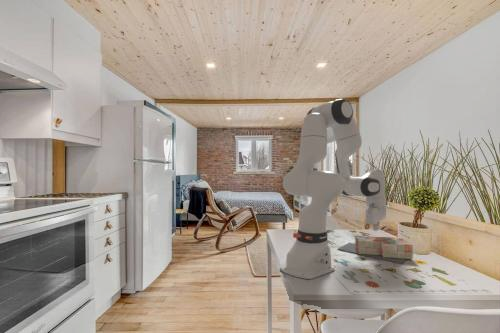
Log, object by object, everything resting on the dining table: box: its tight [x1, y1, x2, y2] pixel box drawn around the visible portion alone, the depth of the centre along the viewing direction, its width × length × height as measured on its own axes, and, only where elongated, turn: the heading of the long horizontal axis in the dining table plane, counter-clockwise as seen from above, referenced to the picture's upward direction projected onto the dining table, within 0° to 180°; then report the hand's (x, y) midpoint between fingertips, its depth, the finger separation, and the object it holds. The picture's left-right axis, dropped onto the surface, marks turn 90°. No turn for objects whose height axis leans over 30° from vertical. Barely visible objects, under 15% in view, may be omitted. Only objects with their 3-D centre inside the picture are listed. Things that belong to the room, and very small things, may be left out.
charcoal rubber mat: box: [336, 242, 407, 265], centre depth 118 cm, size 15×28×1 cm, turn 47°
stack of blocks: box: [354, 235, 414, 260], centre depth 116 cm, size 21×6×12 cm
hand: (376, 230), depth 123 cm, fingers closed
